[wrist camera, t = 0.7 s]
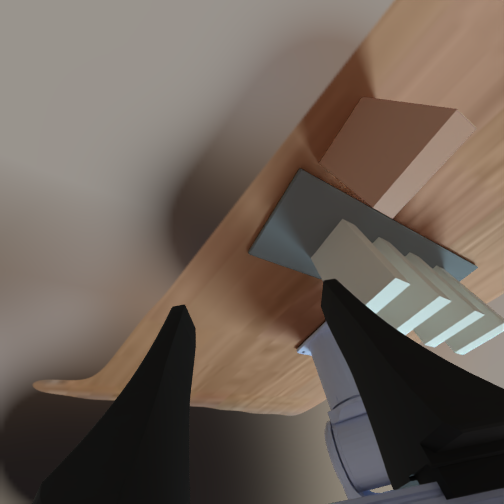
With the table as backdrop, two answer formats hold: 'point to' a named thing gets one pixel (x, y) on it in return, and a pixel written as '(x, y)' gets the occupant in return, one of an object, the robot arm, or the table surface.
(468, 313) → the domino
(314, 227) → the mat
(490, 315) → the domino
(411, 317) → the domino
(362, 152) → the terracotta domino
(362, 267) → the domino
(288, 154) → the table surface
